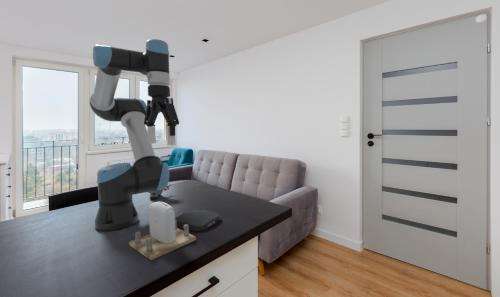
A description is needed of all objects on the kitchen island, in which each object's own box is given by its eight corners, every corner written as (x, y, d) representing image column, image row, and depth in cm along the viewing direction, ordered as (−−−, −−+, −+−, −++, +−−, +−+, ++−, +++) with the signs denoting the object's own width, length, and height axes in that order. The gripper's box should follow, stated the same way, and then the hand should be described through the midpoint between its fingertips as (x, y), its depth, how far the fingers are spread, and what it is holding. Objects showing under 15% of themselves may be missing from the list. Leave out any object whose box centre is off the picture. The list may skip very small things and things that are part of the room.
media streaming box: (195, 213, 107) (195, 207, 107) (223, 219, 100) (222, 212, 100) (170, 226, 94) (170, 218, 94) (200, 233, 87) (200, 225, 87)
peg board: (129, 245, 79) (128, 231, 78) (172, 228, 91) (172, 216, 90) (150, 260, 70) (150, 244, 69) (196, 240, 82) (195, 226, 81)
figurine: (169, 199, 127) (168, 171, 126) (146, 200, 125) (145, 171, 124) (171, 194, 136) (170, 167, 135) (150, 195, 134) (149, 168, 133)
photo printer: (147, 237, 82) (146, 201, 80) (159, 232, 85) (157, 198, 84) (166, 245, 76) (164, 207, 74) (177, 240, 79) (176, 203, 78)
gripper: (132, 88, 93) (135, 143, 95) (168, 80, 77) (171, 146, 79) (151, 90, 98) (153, 142, 100) (188, 83, 82) (190, 145, 84)
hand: (161, 144), depth 90 cm, fingers open, 13 cm apart
